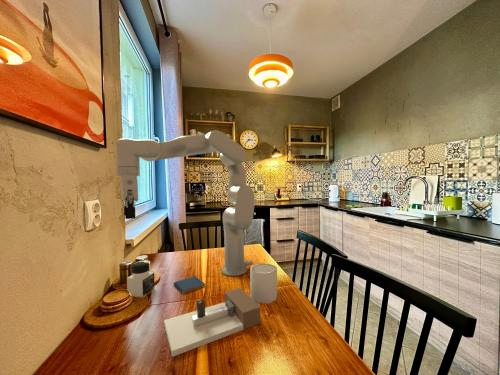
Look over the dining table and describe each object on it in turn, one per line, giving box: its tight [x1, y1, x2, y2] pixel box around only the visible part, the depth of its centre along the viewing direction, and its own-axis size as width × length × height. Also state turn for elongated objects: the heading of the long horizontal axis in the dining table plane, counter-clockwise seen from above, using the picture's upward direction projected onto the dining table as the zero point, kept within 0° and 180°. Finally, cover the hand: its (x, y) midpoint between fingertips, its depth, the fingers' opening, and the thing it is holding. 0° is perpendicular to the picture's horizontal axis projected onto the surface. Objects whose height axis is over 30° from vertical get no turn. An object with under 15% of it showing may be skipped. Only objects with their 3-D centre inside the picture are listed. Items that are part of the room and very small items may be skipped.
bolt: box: [192, 299, 229, 326], centre depth 66 cm, size 12×2×6 cm, turn 119°
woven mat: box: [172, 275, 206, 295], centre depth 92 cm, size 10×11×2 cm
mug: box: [249, 263, 278, 304], centre depth 84 cm, size 14×10×11 cm
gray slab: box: [163, 287, 261, 358], centre depth 66 cm, size 26×14×5 cm, turn 119°
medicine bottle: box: [126, 260, 156, 298], centre depth 86 cm, size 7×7×12 cm
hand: (129, 216), depth 83 cm, fingers open, 9 cm apart
